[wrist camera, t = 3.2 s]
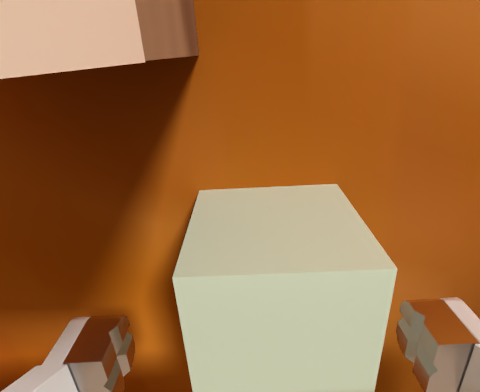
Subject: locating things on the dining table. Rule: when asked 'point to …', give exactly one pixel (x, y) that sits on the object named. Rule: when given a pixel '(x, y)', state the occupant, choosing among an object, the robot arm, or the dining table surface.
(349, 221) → the block small
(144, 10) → the block bottom
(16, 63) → the block top
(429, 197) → the dining table surface
